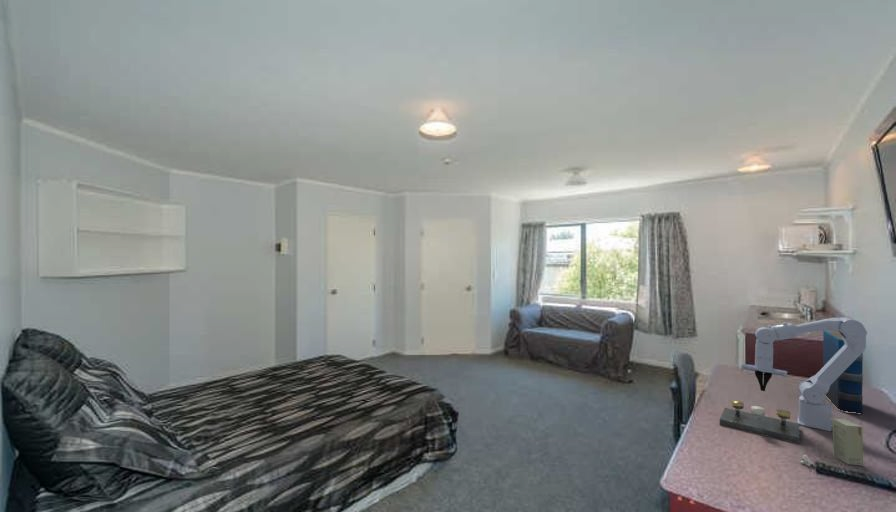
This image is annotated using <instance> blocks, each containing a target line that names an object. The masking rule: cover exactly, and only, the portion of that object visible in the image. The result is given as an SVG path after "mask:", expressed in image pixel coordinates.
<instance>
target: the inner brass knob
mask: <svg viewBox="0 0 896 512" xmlns="http://www.w3.org/2000/svg"><path fill="white" fill-rule="evenodd" d="M775 413H776V414H775V415H776V417H778V418H780V422H781V423H783V424H786V421H787V420H789V419H791V412H790V411H788V410H787V409H786V410H785V409H780V408H779V409H776V412H775Z"/></svg>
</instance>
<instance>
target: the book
mask: <svg viewBox="0 0 896 512" xmlns="http://www.w3.org/2000/svg"><path fill="white" fill-rule="evenodd" d="M822 331H823V335H822V337H823V340H822V341H823V344H822V345H823V346H822V348H823V349H822V350H823V352H822V356H823V357H822V359H823V360H822V364H823V367H824V365H825V364H826V363H827V362H828V361H829V360H830V359H831V358H832V357H833V356H834V355H835V354H836V353H837V352H838V351H839V350H840V349H841V348H842V347H843V346H844V344H845V343H844V341H843V338H842V335H841V334H840V333H837V332H833V331H828V330H822ZM863 352H864V351H863ZM863 352H862V353H861V354H860V356H859V357H858V358H857V359H856V360H855V361H854V362H853V363H852V364H851V365H850V366H849V367H848V368H847V369H846V370H845V371H844V372H843V373H842V374H841V375H840V376H839V377H838V378H837V379H836V380H835V381H834V382H833V383H832V384H831V385H830V388H829V391H828V392H827V393H826V396H827V397H828V398H829V399H830V400H831V402H832V403H833V404H834V405H835V406H836V407H837V408H838V409H840V410H843V411H848V412H856V413H861V412H862V413H863V402H864V401H863V400H864V399H863V397H864V396H863V381H864V380H863V379H864V374H863V361H864V355H863ZM823 367H822V368H823ZM831 402H830V403H831ZM832 403H831V404H832Z"/></svg>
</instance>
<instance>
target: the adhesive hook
mask: <svg viewBox="0 0 896 512" xmlns="http://www.w3.org/2000/svg"><path fill="white" fill-rule="evenodd" d="M801 457H802V458H801V461H800V464H802V465H806V466H808V467H811V466H812V465H813V467H815V465H814V463H813V462H812V461H811V459H810V457H809V456H808V454H803V455H802V456H801Z"/></svg>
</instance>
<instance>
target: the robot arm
mask: <svg viewBox="0 0 896 512" xmlns="http://www.w3.org/2000/svg"><path fill="white" fill-rule="evenodd" d="M819 331H828V332H835V333H840V334H841V335H842V338H843V341H844V343H845V344H844V346H843V347H842V348H841V349H840V350H839V351H838V352H837V353H836V354H835V355H834V356H833V357H832V358H831V359H830V360H829V361H828V362H827V363H826V364H825V365H824V367H821V369H820V370H819V371H817V373H816V374H814V375H812V376H810V377H809V378H808V379H807V380H803V381H801V382H800V383H799V384H798V391H799V392H800V394H801V395H800V396H799V397H798V416H797V418H796V419H797V422H796V423H798V424H799V426H804V427H808V428H814V429H818V430H823V431H827V432H833V418H832V414H833V413H832V404H827V403H825V400H826V397H825V395H826V393H827V392H828V391H829V388H830V385H831V384H832V383H833V382H834V381H835V380H836V379H837V378H838V377H839V376H840V375H841V374H842V373H843V372H844V371H845V370H846V369H847V368H848V367H849V366H850V365H851V364H852V363H853V362H854V361H855V360H856V359H857V358H858V357H859V356H860V354H861V353H862V352H864V351H866V349H867V334H868V332H867V330H866V328H865V326H864V324H863V323H862V322H860V321H858V320H856V319H853V318H852V317H850V316H840V317H829V318H824V319H820V320H815V321H811V322H810V321H809V322H805V323H800V324H793V323H791V322H789V323H787V322H786V321H785V322H782V323H781V324H778V325H773V326H772V325H771V324H769V325H767V327H764V326H761V327H758V328H757V329H756V330H755V332H754V335H755V338H756V340H755V345H754V346H755V347H754V348H755V350H754V351H755V352H754V364H746V363H741V365H740V366H741V367H740V369H741V370H746V371H752V372H754V375H755V377H756V379H757V382H758V384H759V387H760V391H762V392H765V391H766V387H767V385H768V384H769V381H770V380H771V378H772V376H773V375H775V376H780V377H785V378H788V371H787V370H782V369H777V368H774V342H775V341H783V340H788V339H795V338H797V337H798V336H799V335H800V334H803V333H804V334H806V333H811V332H819Z"/></svg>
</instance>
